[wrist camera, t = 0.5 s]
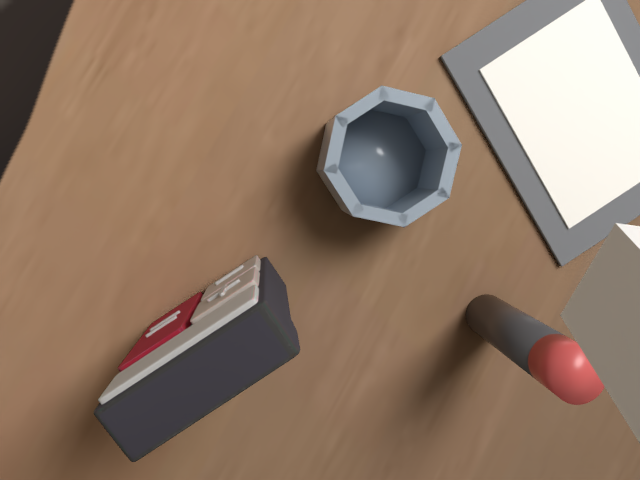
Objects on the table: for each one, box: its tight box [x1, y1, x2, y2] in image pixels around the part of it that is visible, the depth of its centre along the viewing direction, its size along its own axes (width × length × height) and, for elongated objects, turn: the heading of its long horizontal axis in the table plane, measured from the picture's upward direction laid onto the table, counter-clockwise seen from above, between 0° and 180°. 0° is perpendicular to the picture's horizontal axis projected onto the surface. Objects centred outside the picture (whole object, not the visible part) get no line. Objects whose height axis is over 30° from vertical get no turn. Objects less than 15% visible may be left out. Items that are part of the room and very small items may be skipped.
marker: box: [466, 295, 604, 405], centre depth 39 cm, size 3×3×14 cm
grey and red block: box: [94, 255, 300, 462], centre depth 36 cm, size 11×4×15 cm, turn 123°
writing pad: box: [440, 0, 640, 266], centre depth 44 cm, size 20×15×1 cm
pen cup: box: [316, 86, 462, 227], centre depth 40 cm, size 9×9×6 cm
